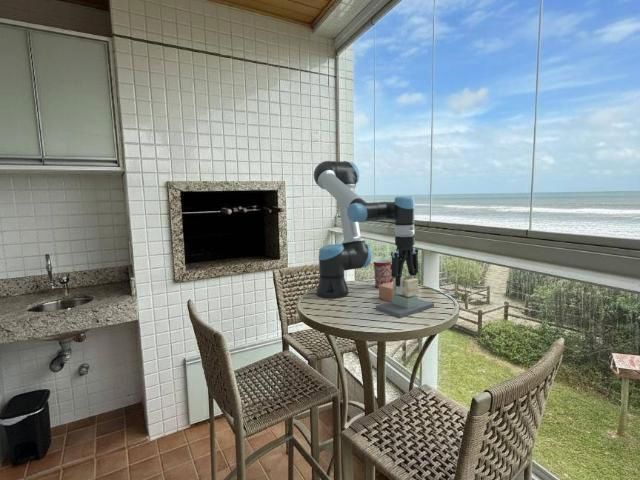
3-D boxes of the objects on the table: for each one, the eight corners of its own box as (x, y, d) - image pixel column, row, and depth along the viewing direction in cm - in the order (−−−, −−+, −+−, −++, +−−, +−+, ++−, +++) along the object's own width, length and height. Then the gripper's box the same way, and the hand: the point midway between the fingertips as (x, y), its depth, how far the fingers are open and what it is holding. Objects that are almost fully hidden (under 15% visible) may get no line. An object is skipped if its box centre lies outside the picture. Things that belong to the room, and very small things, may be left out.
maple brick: (393, 292, 136) (392, 278, 135) (403, 290, 139) (402, 276, 139) (408, 296, 129) (408, 281, 129) (418, 293, 133) (418, 279, 132)
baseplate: (375, 309, 135) (375, 296, 134) (409, 299, 146) (408, 287, 146) (400, 318, 124) (400, 303, 124) (434, 306, 136) (434, 293, 135)
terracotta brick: (378, 298, 150) (378, 285, 150) (388, 295, 154) (388, 283, 153) (391, 302, 144) (391, 288, 143) (401, 299, 147) (401, 286, 146)
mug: (374, 289, 164) (374, 262, 163) (372, 284, 173) (372, 259, 172) (400, 289, 163) (400, 262, 162) (397, 284, 172) (397, 258, 171)
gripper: (395, 238, 123) (395, 299, 126) (427, 234, 134) (428, 290, 137) (380, 237, 129) (381, 294, 132) (413, 233, 140) (413, 286, 143)
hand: (405, 292), depth 134 cm, fingers closed on maple brick, 6 cm apart
